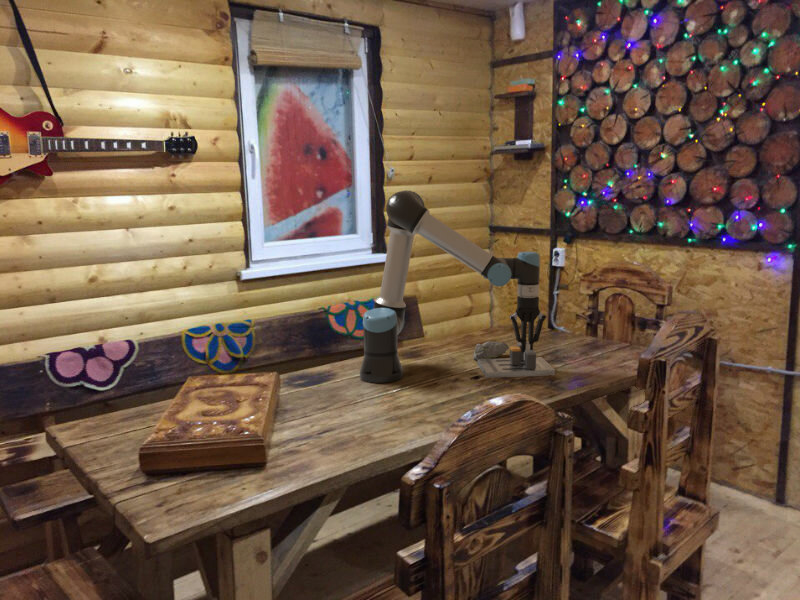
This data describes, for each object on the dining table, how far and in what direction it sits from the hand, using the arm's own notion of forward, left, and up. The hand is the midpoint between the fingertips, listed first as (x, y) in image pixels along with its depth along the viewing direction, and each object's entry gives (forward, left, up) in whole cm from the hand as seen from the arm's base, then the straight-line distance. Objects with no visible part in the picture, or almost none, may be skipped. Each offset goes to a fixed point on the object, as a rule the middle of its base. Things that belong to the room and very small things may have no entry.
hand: (526, 360), depth 233 cm
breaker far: (0, +5, -1) cm, 5 cm away
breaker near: (0, -6, -1) cm, 6 cm away
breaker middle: (-4, 0, -1) cm, 4 cm away
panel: (-4, 0, -3) cm, 5 cm away
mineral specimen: (-11, +17, -4) cm, 20 cm away
